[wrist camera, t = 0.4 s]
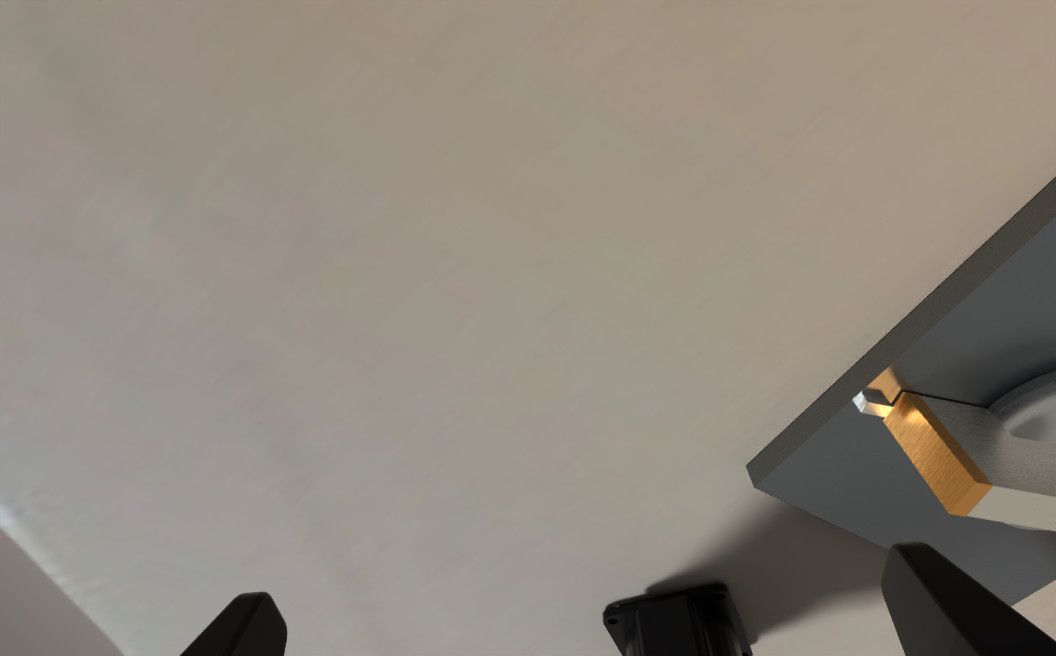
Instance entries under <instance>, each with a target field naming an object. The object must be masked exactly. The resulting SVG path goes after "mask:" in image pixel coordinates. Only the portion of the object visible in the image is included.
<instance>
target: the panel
mask: <svg viewBox="0 0 1056 656" xmlns="http://www.w3.org/2000/svg"><path fill="white" fill-rule="evenodd" d="M1054 371H1056V178H1055V179H1054V180H1053V181H1052V182H1051V183H1050V184H1048V185H1047V186H1046V187H1045V188H1044V189H1043V190H1042V191H1041V192H1040V193H1039V194H1038V195H1037V196H1036V197H1034V198H1033V199H1032V200H1031V201H1030V202H1029V203H1028V204H1027V205H1026V206H1025V207H1024V208H1023V209H1022V210H1021V211H1019V212H1018V213H1017V214H1016V215H1015V216H1014V217H1013V218H1012V219H1011V220H1010V221H1009V222H1008V223H1007V224H1005V225H1004V226H1003V227H1002V228H1001V229H1000V230H999V231H998V232H997V233H996V234H995V235H994V236H993V237H992V238H990V239H989V240H988V241H987V242H986V243H985V244H984V245H983V246H982V247H981V248H980V249H979V250H978V251H977V252H975V253H974V254H973V255H972V256H971V257H970V258H969V259H968V260H967V261H966V262H965V263H964V264H963V265H961V266H960V267H959V268H958V269H957V270H956V271H955V272H954V273H953V274H952V275H951V276H950V277H949V278H948V279H946V280H945V281H944V282H943V283H942V284H941V285H940V286H939V287H938V288H937V289H936V290H935V291H934V292H932V293H931V294H930V295H929V296H928V297H927V298H926V299H925V300H924V301H923V302H922V303H921V304H920V305H919V306H917V307H916V308H915V309H914V310H913V311H912V312H911V313H910V314H909V315H908V316H907V317H906V318H905V319H903V320H902V321H901V322H900V323H899V324H898V325H897V326H896V327H895V328H894V329H893V330H892V331H891V332H890V333H888V334H887V335H886V336H885V337H884V338H883V339H882V340H881V341H880V342H879V343H878V344H877V345H876V346H875V347H873V348H872V349H871V350H870V351H869V352H868V353H867V354H866V355H865V356H864V357H863V358H862V359H861V360H859V361H858V362H857V363H856V364H855V365H854V366H853V367H852V368H851V369H850V370H849V371H848V372H847V373H846V374H844V375H843V376H842V377H841V378H840V379H839V380H838V381H837V382H836V383H835V384H834V385H833V386H832V387H830V388H829V389H828V390H827V391H826V392H825V393H824V394H823V395H822V396H821V397H820V398H819V399H818V400H817V401H815V402H814V403H813V404H812V405H811V406H810V407H809V408H808V409H807V410H806V411H805V412H804V413H803V414H801V415H800V416H799V417H798V418H797V419H796V420H795V421H794V422H793V423H792V424H791V425H790V426H789V427H788V428H786V429H785V430H784V431H783V432H782V433H781V434H780V435H779V436H778V437H777V438H776V439H775V440H774V441H772V442H771V443H770V444H769V445H768V446H767V447H766V448H765V449H764V450H763V451H762V452H761V453H760V454H759V455H757V456H756V457H755V458H754V459H753V460H752V461H751V462H750V463H749V464H748V465H747V466H746V468H747V470H748V473H749V475H750V478H751V481H752V483H753V486H754V488H756V489H758V490H761V491H763V492H765V493H767V494H769V495H771V496H773V497H776V498H778V499H780V500H782V501H784V502H786V503H789V504H791V505H793V506H795V507H797V508H799V509H801V510H804V511H806V512H808V513H810V514H812V515H814V516H816V517H819V518H821V519H823V520H825V521H827V522H829V523H831V524H834V525H836V526H838V527H840V528H842V529H844V530H846V531H849V532H851V533H853V534H855V535H857V536H859V537H861V538H864V539H866V540H868V541H870V542H872V543H874V544H876V545H879V546H881V547H883V548H885V549H887V550H889V548H890V546H892V545H893V544H894V543H900V542H913V541H921V542H924V543H926V544H928V545H930V546H931V547H933V548H934V549H935V550H937V551H938V552H939V553H941V554H942V555H943V556H945V557H946V558H947V559H949V560H950V561H951V562H953V563H954V564H955V565H956V566H958V567H959V568H960V569H962V570H963V571H964V572H966V573H967V574H968V575H970V576H971V577H972V578H973V579H975V580H976V581H977V582H979V583H980V584H981V585H983V586H984V587H985V588H987V589H988V590H989V591H991V592H992V593H993V594H994V595H996V596H997V597H998V598H1000V599H1001V600H1002V601H1004V602H1005V603H1006V604H1008V605H1009V606H1010V607H1011V606H1012V605H1014V604H1016V603H1018V602H1019V601H1021V600H1023V599H1024V598H1026V597H1028V596H1029V595H1031V594H1033V593H1034V592H1036V591H1038V590H1039V589H1041V588H1043V587H1044V586H1046V585H1048V584H1049V583H1051V582H1053V581H1054V580H1056V531H1051V530H1028V529H1021V528H1017V527H1013V526H1010V525H1008V524H1005V523H1003V522H999V521H993V520H987V519H981V518H975V517H970V516H966V517H964V516H958V515H953V514H949V513H948V512H947V510H946V509H945V508H944V506H943V505H942V503H941V502H940V501H939V499H938V498H937V496H936V495H935V493H934V492H933V491H932V489H931V488H930V486H929V485H928V484H927V482H926V481H925V479H924V478H923V477H922V475H921V474H920V472H919V471H918V470H917V468H916V467H915V465H914V464H913V463H912V461H911V460H910V458H909V457H908V455H907V454H906V453H905V451H904V450H903V448H902V447H901V446H900V444H899V443H898V441H897V440H896V439H895V437H894V436H893V434H892V433H891V432H890V430H889V429H888V427H887V426H886V425H885V423H884V422H883V420H884V419H885V417H887V416H888V414H889V413H890V411H891V410H892V409H893V406H894V404H895V403H896V401H897V400H898V399H899V397H900V396H901V394H902V393H903V392H908V393H913V394H918V395H920V396H925V397H930V398H935V399H940V400H945V401H950V402H956V403H961V404H966V405H971V406H976V407H981V408H986V409H987V408H988V407H989V406H991V405H992V404H993V403H994V402H996V401H997V400H998V399H1000V398H1001V397H1002V396H1004V395H1005V394H1007V393H1008V392H1010V391H1012V390H1013V389H1015V388H1017V387H1019V386H1020V385H1022V384H1024V383H1026V382H1028V381H1030V380H1033V379H1035V378H1037V377H1040V376H1042V375H1045V374H1048V373H1051V372H1054Z"/></svg>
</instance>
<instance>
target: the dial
mask: <svg viewBox="0 0 1056 656" xmlns="http://www.w3.org/2000/svg"><path fill="white" fill-rule="evenodd" d="M883 422H884V423H885V425H886V426H887V427H888V429H889V430H890V432H891V433H892V434H893V436H894V437H895V439H896V440H897V441H898V443H899V444H900V446H901V447H902V448H903V450H904V451H905V453H906V454H907V455H908V457H909V458H910V460H911V461H912V463H913V464H914V465H915V467H916V468H917V470H918V471H919V472H920V474H921V475H922V477H923V478H924V479H925V481H926V482H927V484H928V485H929V486H930V488H931V489H932V491H933V492H934V493H935V495H936V496H937V498H938V499H939V501H940V502H941V503H942V505H943V506H944V508H945V509H946V510H947V512H948V513H949V514H953V515H958V516H964V517H966V516H970V517H975V518H981V519H987V520H993V521H999V522H1003V523H1005V524H1008V525H1010V526H1013V527H1017V528H1021V529H1028V530H1051V531H1056V371H1054V372H1051V373H1048V374H1045V375H1042V376H1040V377H1037V378H1035V379H1033V380H1030V381H1028V382H1026V383H1024V384H1022V385H1020V386H1019V387H1017V388H1015V389H1013V390H1012V391H1010V392H1008V393H1007V394H1005V395H1004V396H1002V397H1001V398H1000V399H998V400H997V401H996V402H994V403H993V404H992V405H991V406H989V407H988V408H987V409H986V408H981V407H976V406H971V405H966V404H961V403H956V402H950V401H945V400H940V399H935V398H930V397H925V396H920V395H918V394H913V393H908V392H903V393H902V394H901V396H900V397H899V399H898V400H897V401H896V403H895V404H894V406H893V409H892V410H891V411H890V413H889V414H888V416H887V417H885V419H884V420H883Z"/></svg>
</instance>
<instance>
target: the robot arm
mask: <svg viewBox="0 0 1056 656" xmlns="http://www.w3.org/2000/svg"><path fill="white" fill-rule="evenodd" d="M881 586H882V592H883V596H884V599H885V602H886V604H887V607H888V610H889V613H890V615H891V618H892V621H893V623H894V626H895V629H896V631H897V634H898V637H899V639H900V642H901V645H902V647H903V650H904V653H905V655H906V656H1056V641H1055V640H1054V639H1052V638H1051V637H1050V636H1048V635H1047V634H1046V633H1044V632H1043V631H1042V630H1040V629H1039V628H1038V627H1036V626H1035V625H1034V624H1033V623H1031V622H1030V621H1029V620H1027V619H1026V618H1025V617H1023V616H1022V615H1021V614H1019V613H1018V612H1017V611H1015V610H1014V609H1013V608H1012V607H1010V606H1009V605H1008V604H1006V603H1005V602H1004V601H1002V600H1001V599H1000V598H998V597H997V596H996V595H994V594H993V593H992V592H991V591H989V590H988V589H987V588H985V587H984V586H983V585H981V584H980V583H979V582H977V581H976V580H975V579H973V578H972V577H971V576H970V575H968V574H967V573H966V572H964V571H963V570H962V569H960V568H959V567H958V566H956V565H955V564H954V563H953V562H951V561H950V560H949V559H947V558H946V557H945V556H943V555H942V554H941V553H939V552H938V551H937V550H935V549H934V548H933V547H931V546H930V545H928V544H926V543H924V542H921V541H913V542H900V543H894V544H893V545H892V546H890V548H889V551H888V555H887V559H886V563H885V567H884V571H883V575H882V580H881ZM603 623H604V625H605V627H606V628H607V630H608V632H609V634H610V635H611V637H612V639H613V640H614V642H615V644H616V646H617V647H618V649H619V651H620V652H621V654H622V656H752V655H753V653H752V650H751V647H750V644H749V641H748V639H747V636H746V633H745V631H744V628H743V626H742V623H741V620H740V618H739V615H738V613H737V610H736V607H735V605H734V602H733V600H732V597H731V594H730V592H729V589H728V587H727V586H726V585H724V584H714V585H710V586H706V587H701V588H697V589H693V590H688V591H684V592H680V593H675V594H671V595H667V596H663V597H658V598H654V599H650V600H645V601H641V602H637V603H633V604H628V605H624V606H620V607H615V608H611V609H608V610H605V611H604V612H603ZM286 642H287V626H286V623H285V620H284V619H283V617H282V615H281V613H280V611H279V610H278V608H277V606H276V604H275V602H274V601H273V599H272V597H271V596H270V594H268V593H266V592H252V593H243V594H240V595H239V596H237V597H236V598H234V599H233V600H232V601H231V602H230V604H229V605H228V606H227V607H226V608H225V609H224V610H223V611H222V612H221V613H220V614H219V615H218V616H217V617H216V618H215V619H214V620H213V621H212V622H211V623H210V624H209V625H208V626H207V628H206V629H205V630H204V631H203V632H202V633H201V634H200V635H199V636H198V637H197V638H196V639H195V640H194V641H193V642H192V643H191V644H190V645H189V646H188V647H187V648H186V649H185V651H184V652H183V653H182V654H181V655H180V656H284V652H285V647H286Z"/></svg>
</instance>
